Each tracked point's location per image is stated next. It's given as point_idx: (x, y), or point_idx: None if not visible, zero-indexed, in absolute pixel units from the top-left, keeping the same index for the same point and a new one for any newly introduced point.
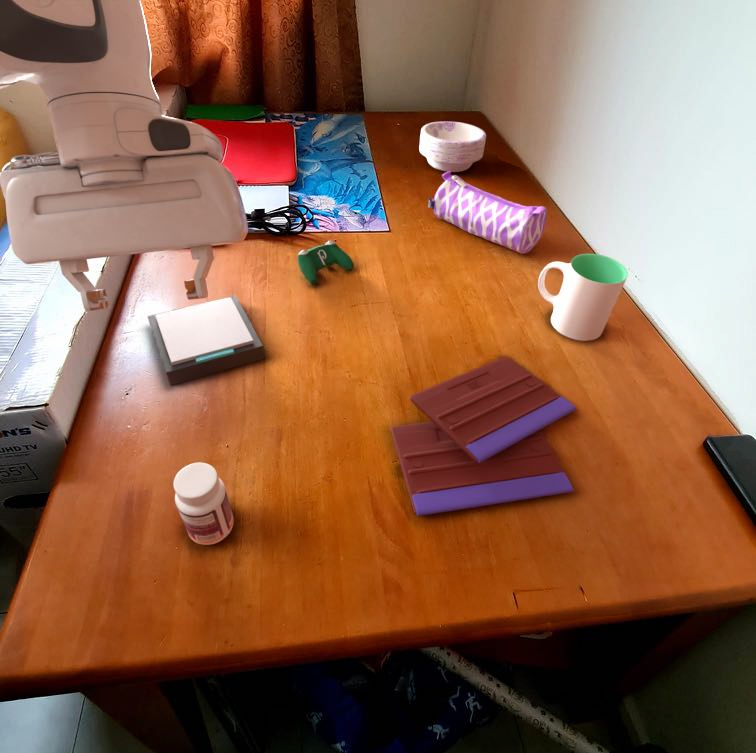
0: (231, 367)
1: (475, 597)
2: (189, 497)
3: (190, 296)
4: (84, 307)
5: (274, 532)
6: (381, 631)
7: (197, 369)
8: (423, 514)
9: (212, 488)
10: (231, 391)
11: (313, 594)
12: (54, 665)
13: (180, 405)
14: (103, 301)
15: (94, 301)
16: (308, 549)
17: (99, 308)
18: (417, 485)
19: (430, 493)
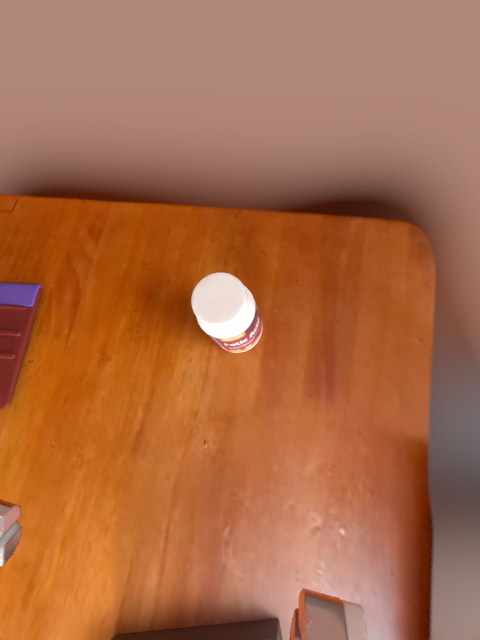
0: (172, 630)
1: (40, 212)
2: (227, 273)
3: (2, 504)
4: (360, 609)
5: (176, 305)
6: (117, 202)
7: (224, 635)
8: (34, 284)
9: (199, 281)
10: (183, 562)
11: (158, 239)
12: (382, 223)
13: (263, 555)
14: (298, 637)
15: (319, 616)
16: (150, 280)
17: (308, 591)
18: (21, 316)
19: (15, 302)
